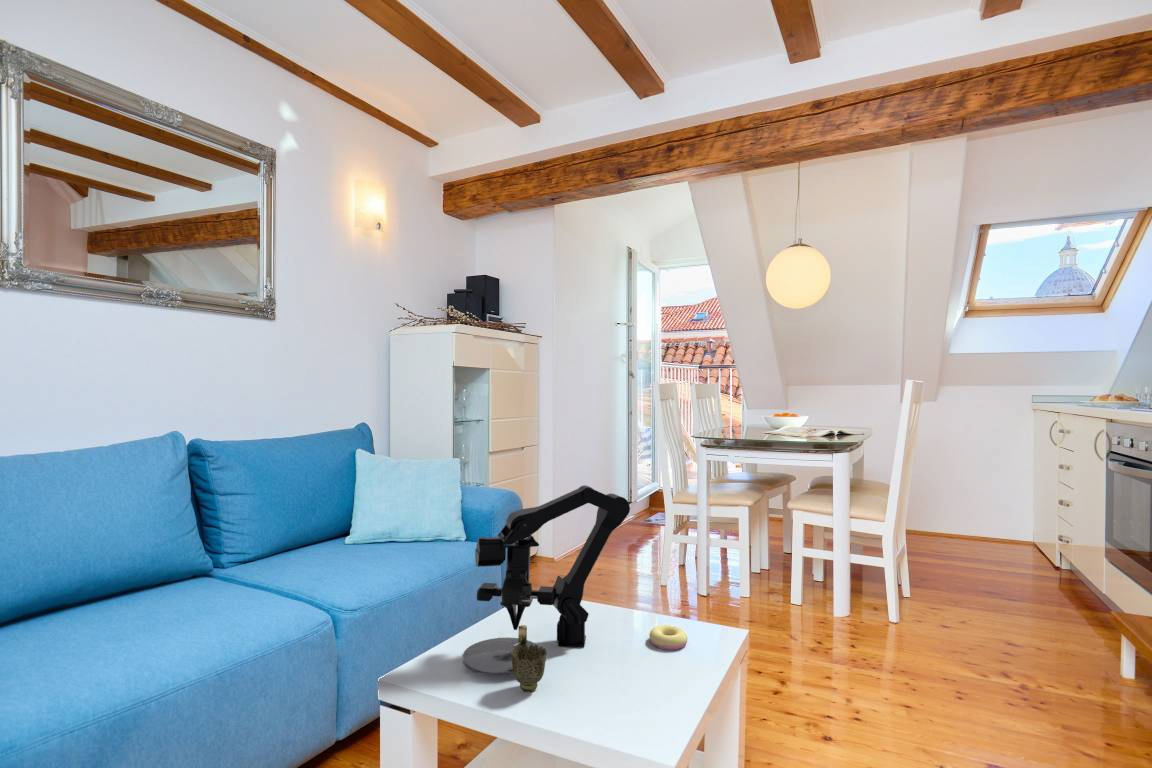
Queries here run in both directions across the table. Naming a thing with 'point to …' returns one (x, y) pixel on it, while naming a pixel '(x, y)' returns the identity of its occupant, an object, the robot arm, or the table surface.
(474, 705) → the table surface
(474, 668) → the turntable
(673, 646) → the donut
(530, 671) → the cup
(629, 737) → the table surface
